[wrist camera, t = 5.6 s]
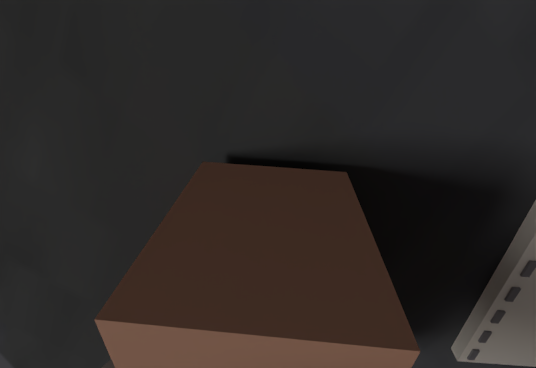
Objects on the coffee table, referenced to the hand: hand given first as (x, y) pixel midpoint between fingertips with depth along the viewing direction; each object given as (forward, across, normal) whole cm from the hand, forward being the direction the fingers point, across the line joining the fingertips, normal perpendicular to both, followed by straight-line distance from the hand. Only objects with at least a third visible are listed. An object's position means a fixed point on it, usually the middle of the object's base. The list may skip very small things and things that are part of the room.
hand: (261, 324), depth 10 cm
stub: (+2, 0, 0) cm, 2 cm away
